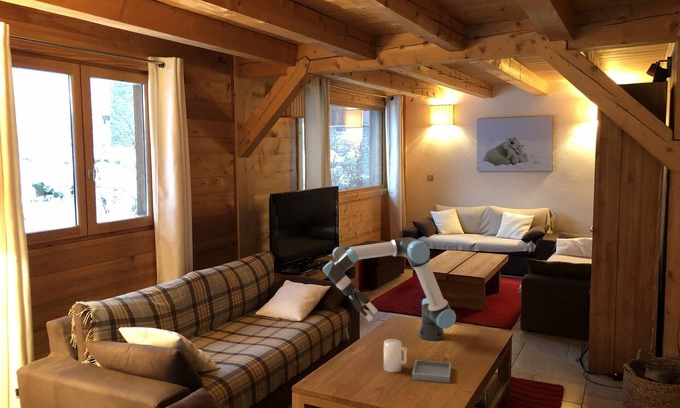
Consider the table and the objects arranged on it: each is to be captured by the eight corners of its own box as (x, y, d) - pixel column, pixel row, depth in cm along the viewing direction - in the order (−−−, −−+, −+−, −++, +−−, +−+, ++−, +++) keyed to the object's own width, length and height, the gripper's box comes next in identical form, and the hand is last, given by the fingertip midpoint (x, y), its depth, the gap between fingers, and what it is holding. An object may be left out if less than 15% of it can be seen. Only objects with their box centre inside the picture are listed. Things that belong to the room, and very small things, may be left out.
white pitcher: (385, 364, 293) (385, 338, 292) (407, 366, 291) (407, 340, 289) (382, 371, 285) (382, 344, 283) (405, 373, 282) (405, 346, 281)
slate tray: (415, 365, 292) (415, 359, 292) (450, 368, 288) (451, 362, 288) (411, 379, 275) (411, 373, 275) (449, 382, 271) (449, 376, 270)
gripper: (346, 284, 312) (372, 313, 310) (335, 296, 288) (363, 327, 286) (356, 276, 310) (382, 304, 308) (345, 287, 286) (374, 318, 284)
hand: (373, 316), depth 297 cm, fingers open, 13 cm apart
